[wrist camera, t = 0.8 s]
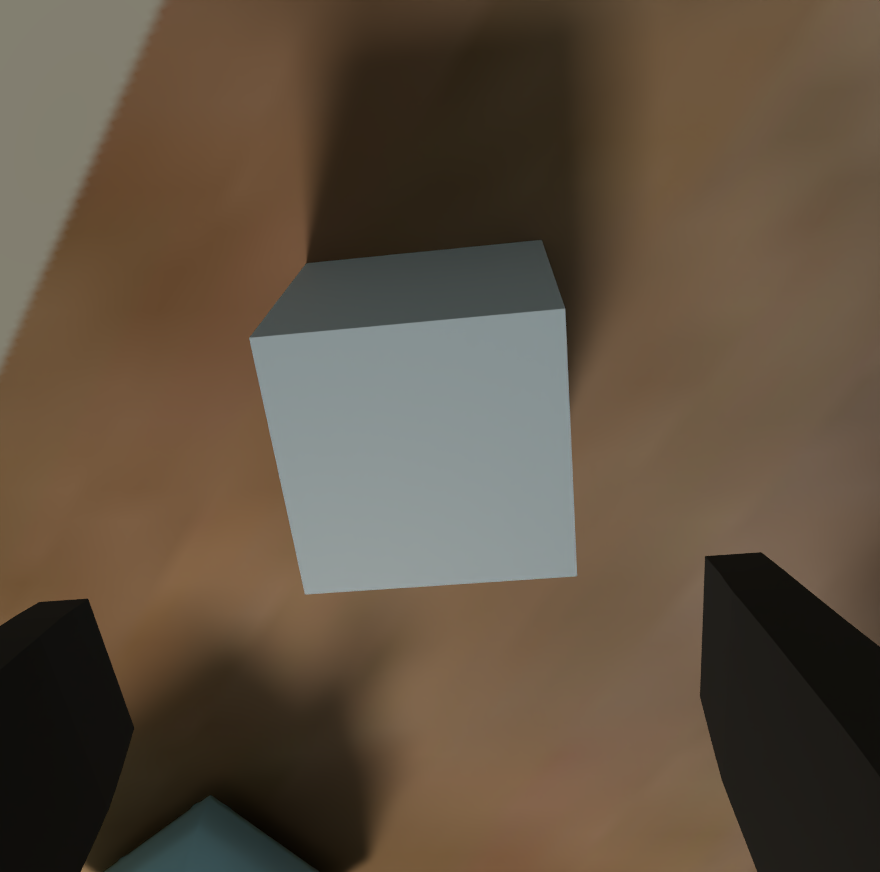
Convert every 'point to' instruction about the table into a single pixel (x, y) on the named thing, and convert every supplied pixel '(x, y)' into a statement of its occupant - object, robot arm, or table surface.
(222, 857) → the light blue knobbed box
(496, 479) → the dusty blue block
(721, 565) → the robot arm
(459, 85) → the table surface
